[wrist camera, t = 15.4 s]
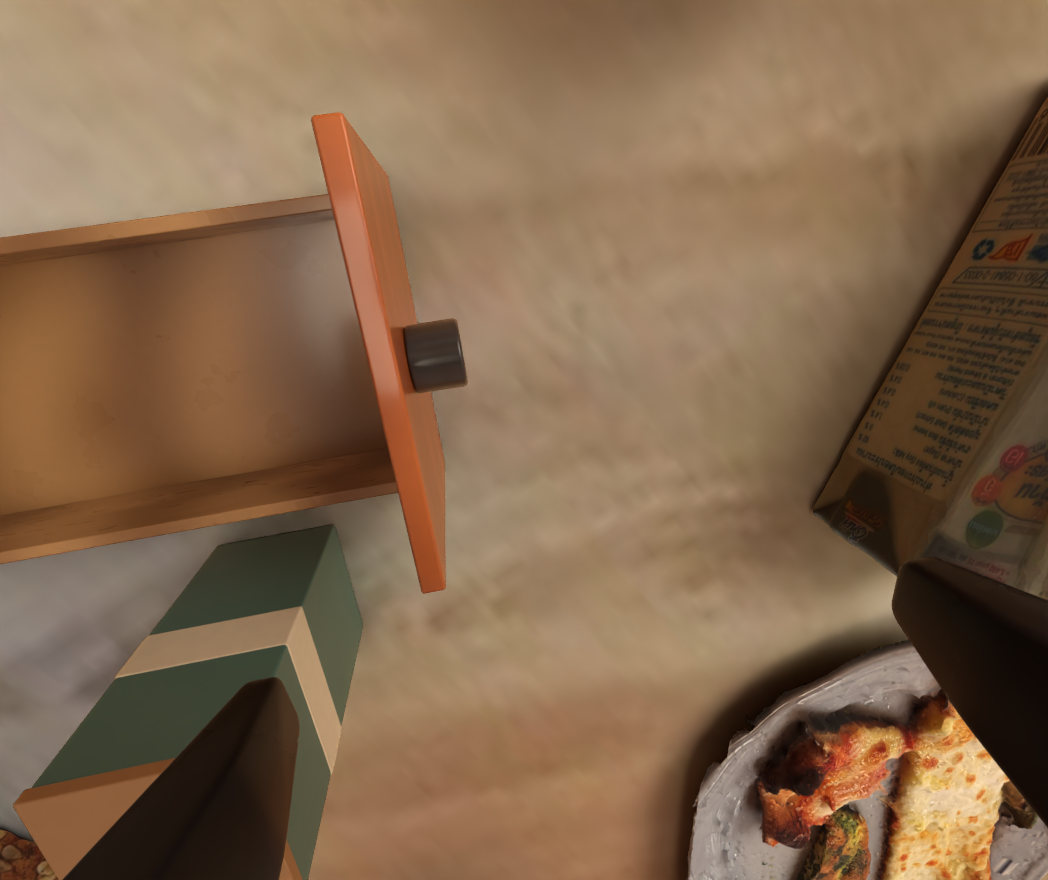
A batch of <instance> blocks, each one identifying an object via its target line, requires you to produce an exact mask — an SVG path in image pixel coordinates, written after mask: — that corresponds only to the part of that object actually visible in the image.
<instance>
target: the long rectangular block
mask: <svg viewBox="0 0 1048 880" xmlns="http://www.w3.org/2000/svg"><path fill="white" fill-rule="evenodd" d="M362 629H363V623H362V619H361V616H360V612H359V609H358V605H357V602H356V598H355V595H354V591H353V588H352V584H351V581H350V577H349V573H348V570H347V566H346V563H345V559H344V556H343V552H342V549H341V545H340V542H339V538H338V535H337V531H336V528H335V525H329V526H324V527H318V528H313V529H307V530H302V531H296V532H291V533H285V534H280V535H274V536H269V537H263V538H258V539H253V540H247V541H242V542H236V543H231V544H225V545H220V546H217V548H216V549H215V550H214V552H213V553H212V554H211V555H210V557H209V558H208V559H207V561H206V562H205V563H204V564H203V566H202V567H201V568H200V570H199V571H198V572H197V574H196V575H195V576H194V577H193V579H192V580H191V581H190V583H189V584H188V585H187V587H186V588H185V589H184V590H183V592H182V593H181V594H180V596H179V597H178V598H177V600H176V601H175V602H174V603H173V605H172V606H171V607H170V609H169V610H168V611H167V613H166V614H165V615H164V616H163V618H162V619H161V620H160V622H159V623H158V624H157V626H156V627H155V628H154V629H153V631H152V632H151V633H150V635H149V636H147V637H145V639H144V640H143V641H142V642H141V644H140V645H139V646H138V648H137V649H136V650H135V652H134V653H133V654H132V655H131V657H130V658H129V659H128V661H127V662H126V663H125V664H124V666H123V667H122V668H121V670H120V671H119V672H118V673H117V675H116V676H115V680H114V681H113V683H112V684H111V685H110V687H109V688H108V689H107V690H106V692H105V693H104V694H103V696H102V697H101V698H100V700H99V701H98V702H97V703H96V705H95V706H94V707H93V709H92V710H91V711H90V713H89V714H88V715H87V716H86V718H85V719H84V720H83V722H82V723H81V724H80V725H79V727H78V728H77V729H76V731H75V732H74V733H73V735H72V736H71V737H70V738H69V740H68V741H67V742H66V744H65V745H64V746H63V748H62V749H61V750H60V751H59V753H58V754H57V755H56V757H55V758H54V759H53V761H52V762H51V763H50V764H49V766H48V767H47V768H46V770H45V771H44V772H43V774H42V775H41V776H40V777H39V779H38V780H37V781H36V783H35V784H34V785H33V787H32V788H30V789H26V790H25V791H23V793H22V794H21V795H20V797H19V798H18V799H17V800H16V802H15V803H14V804H13V808H14V809H15V811H16V812H17V814H18V816H19V817H20V819H21V820H22V822H23V824H24V825H25V827H26V828H27V830H28V832H29V833H30V835H31V836H32V838H33V840H34V841H35V843H36V844H37V846H38V848H39V849H40V851H41V852H42V854H43V855H44V857H45V859H46V860H47V862H48V863H49V865H50V867H51V868H52V870H53V871H54V873H55V875H56V876H57V878H58V879H59V880H62V879H63V878H64V877H65V876H66V875H67V874H68V873H69V872H70V871H71V870H72V869H73V868H74V866H75V865H76V864H77V863H78V862H79V861H80V860H81V859H82V858H83V857H84V856H85V855H86V854H87V852H88V851H89V850H90V849H91V848H92V847H93V846H94V845H95V844H96V843H97V842H98V841H99V840H100V839H101V837H102V836H103V835H104V834H105V833H106V832H107V831H108V830H109V829H110V828H111V827H112V826H113V825H114V824H115V822H116V821H117V820H118V819H119V818H120V817H121V816H122V815H123V814H124V813H125V812H126V811H127V810H128V808H129V807H130V806H131V805H132V804H133V803H134V802H135V801H136V800H137V799H138V798H139V797H140V796H141V795H142V793H143V792H144V791H145V790H146V789H147V788H148V787H149V786H150V785H151V784H152V783H153V782H154V781H155V779H156V778H157V777H158V776H159V775H160V774H161V773H162V772H163V771H164V770H165V769H166V768H167V767H168V766H169V764H170V763H171V762H172V761H173V760H174V759H175V758H176V757H177V756H178V755H179V754H180V753H181V752H182V751H183V749H184V748H185V747H186V746H187V745H188V744H189V743H190V742H191V741H192V740H193V739H194V738H195V737H196V735H197V734H198V733H199V732H200V731H201V730H202V729H203V728H204V727H205V726H206V725H207V724H208V723H209V722H210V720H211V719H212V718H213V717H214V716H215V715H216V714H217V713H218V712H219V711H220V710H221V709H222V708H223V706H224V705H225V704H226V703H227V702H228V701H229V700H230V699H231V698H232V697H233V696H234V695H235V694H236V693H237V691H238V690H239V689H240V688H241V687H242V686H243V685H245V684H246V683H247V682H250V681H253V680H259V679H264V678H270V677H277V678H279V679H280V680H281V681H282V682H283V684H284V686H285V688H286V691H287V693H288V695H289V697H290V699H291V701H292V703H293V706H294V708H295V710H296V712H297V715H298V718H299V729H300V731H299V740H298V749H297V757H296V765H295V774H294V782H293V790H292V798H291V807H290V815H289V823H288V832H287V839H286V846H285V853H284V858H283V863H282V868H281V873H280V878H279V880H308V877H309V872H310V868H311V863H312V858H313V854H314V849H315V845H316V840H317V836H318V831H319V826H320V822H321V817H322V813H323V808H324V803H325V799H326V794H327V790H328V785H329V780H330V776H331V775H332V773H333V768H334V764H335V759H336V754H337V750H338V745H339V740H340V736H341V731H342V728H341V725H342V721H343V716H344V711H345V707H346V702H347V698H348V693H349V688H350V684H351V679H352V675H353V670H354V666H355V661H356V656H357V652H358V647H359V643H360V638H361V633H362Z"/></svg>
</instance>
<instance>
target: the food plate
mask: <svg viewBox="0 0 1048 880" xmlns="http://www.w3.org/2000/svg"><path fill="white" fill-rule="evenodd" d="M908 640H909V639H908ZM901 642H902V643H895V645H894V644H890V645H888V646H885V647H882V648H880V647H879V648H877V649H876V648H875V649H874V650H872V651H869V652H867V653H865V654H864V655H862V656H858V657H856V658H855V659H853V660H850V661H848V662H847V663H844V664H843V665H842V666H840V667H839V668H837V669H836V670H835V671H834V670H833V671H831V673H828V675H826V674H825V675H824V677H820V678H818V679H816V681H814V682H812V683H808V685H805V686H803V685H802V686H800V687H799V688H795V689H792V690H790V691H788V692H787V691H786V692H784V694H781V696H780V697H779V698H778V699H777V702H775V703H774V704H773V705H772V706H770V707H766V708H763V709H764V711H762V712H761V714H758V715H759V716H758V717H756V718H755V721H753V720H752V721H751V720H748V719H747V718H748V717H747V715H746V716H745V719H746V721H747V722H748V724H752V725H755V727H754V730H752V731H751V732H750V731H746V728H745V729H743V730H742V731H740V732H738V731H737V734H736V735H734V736H733V737H732V739H731V740H730V743H729V745H730V746H729V749H728V752H729V753H728V756H727V758H726V759H725V760H724V761H723V762H722V763H721V764H719V763H717V762H716V761H714V762H713V764H711V765H710V766H709V767H708V769H707V771H706V774H705V776H704V779H703V782H702V783H701V784H700V785H701V786H700V792H699V794H698V796H697V799H696V800H695V804H694V805H693V807H694V806H697V811H696V812H695V814H694V819H693V828H692V836H691V839H690V846H689V852H688V857H687V859H688V868H689V870H688V878H687V879H686V880H1041V879H1042V878H1043V877H1044V876H1045V875H1046V874H1047V873H1048V828H1047V827H1046V825H1045V824H1044V823H1043V822H1042V820H1041V819H1040V818H1039V817H1038V815H1037V814H1036V813H1035V811H1034V810H1033V809H1032V808H1031V806H1030V805H1029V804H1028V803H1027V801H1026V800H1025V799H1024V798H1023V796H1022V795H1021V794H1020V793H1019V791H1018V790H1017V789H1016V787H1015V786H1014V785H1013V784H1012V782H1011V781H1010V780H1009V779H1008V777H1007V776H1006V775H1005V774H1004V772H1003V771H1002V770H1001V769H1000V767H999V766H998V765H997V763H996V762H995V761H994V760H993V758H992V757H991V756H990V755H989V753H988V752H987V751H986V750H985V748H984V747H983V746H982V744H981V743H980V742H979V741H978V739H977V738H976V737H975V736H974V734H973V733H972V732H971V730H970V729H969V728H968V726H967V725H966V724H965V722H964V721H963V720H962V718H961V717H960V716H959V714H958V713H957V711H956V710H955V708H954V707H953V706H952V704H951V703H950V701H949V700H948V698H947V697H946V695H945V694H944V692H943V691H942V689H941V687H940V686H939V684H938V683H937V681H936V680H935V678H934V677H933V675H932V674H931V672H930V671H929V669H928V668H927V666H926V665H925V663H924V662H923V660H922V659H921V657H920V656H919V654H918V653H917V651H916V649H915V648H914V646H913V645H912V643H911V642H910V640H909V641H901ZM697 802H698V805H696V803H697Z"/></svg>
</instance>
